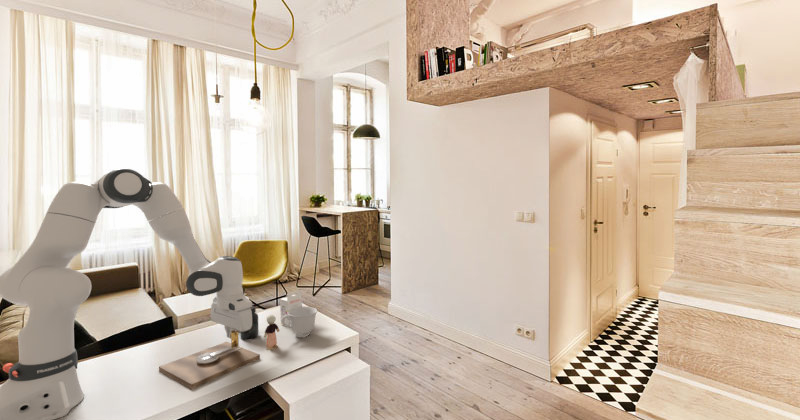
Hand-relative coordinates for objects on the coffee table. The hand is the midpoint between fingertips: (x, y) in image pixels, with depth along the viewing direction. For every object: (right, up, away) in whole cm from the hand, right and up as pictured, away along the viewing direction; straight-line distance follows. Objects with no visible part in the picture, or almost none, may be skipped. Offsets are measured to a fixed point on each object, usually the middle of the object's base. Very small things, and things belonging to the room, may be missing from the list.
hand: (230, 337), depth 137 cm
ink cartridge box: (+13, -4, +31) cm, 34 cm away
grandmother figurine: (+13, -6, +5) cm, 15 cm away
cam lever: (-2, -4, -6) cm, 8 cm away
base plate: (-3, -6, -9) cm, 11 cm away
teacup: (+21, -5, +16) cm, 27 cm away
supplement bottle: (+1, -5, +15) cm, 16 cm away
